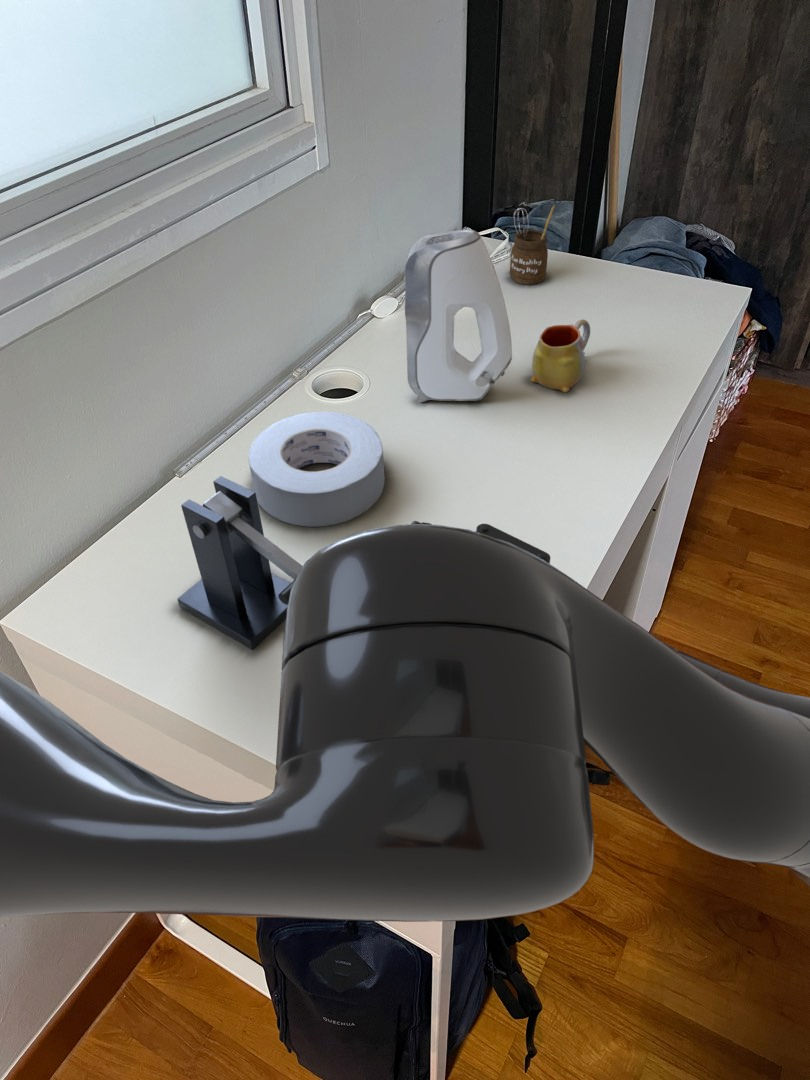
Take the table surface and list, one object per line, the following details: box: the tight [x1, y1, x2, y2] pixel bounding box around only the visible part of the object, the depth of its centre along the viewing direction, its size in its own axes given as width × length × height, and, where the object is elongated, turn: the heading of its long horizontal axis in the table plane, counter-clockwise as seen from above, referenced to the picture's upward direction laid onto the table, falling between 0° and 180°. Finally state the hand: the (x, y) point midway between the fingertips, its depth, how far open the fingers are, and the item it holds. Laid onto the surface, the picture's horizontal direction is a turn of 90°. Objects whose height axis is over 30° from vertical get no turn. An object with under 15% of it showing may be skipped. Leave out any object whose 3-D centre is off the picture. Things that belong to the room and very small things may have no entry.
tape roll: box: [248, 411, 385, 528], centre depth 95 cm, size 15×15×5 cm
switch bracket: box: [177, 475, 292, 651], centre depth 78 cm, size 10×8×14 cm
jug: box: [404, 229, 513, 403], centre depth 102 cm, size 13×5×22 cm, turn 83°
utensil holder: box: [509, 204, 556, 286], centre depth 130 cm, size 6×6×12 cm
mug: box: [530, 319, 591, 393], centre depth 111 cm, size 12×7×7 cm, turn 141°
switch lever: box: [202, 491, 303, 605], centre depth 73 cm, size 12×6×2 cm, turn 55°
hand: (374, 566), depth 58 cm, fingers open, 8 cm apart
